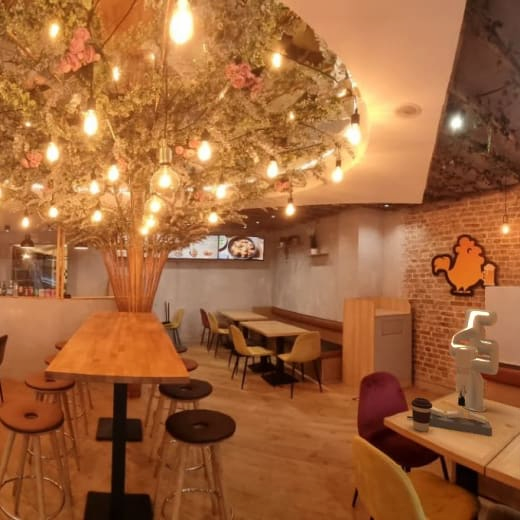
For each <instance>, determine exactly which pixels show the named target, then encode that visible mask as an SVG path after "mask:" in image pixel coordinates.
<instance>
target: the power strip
mask: <svg viewBox="0 0 520 520" xmlns="http://www.w3.org/2000/svg"><path fill="white" fill-rule="evenodd" d="M406 418H407V419H410V420H411V419H412V420H413V416H411V415H407V416H406ZM429 427H435V428H439V429H445V430H452V431H456V432H457V431H458V432H464V433H469V434H476V435H480V436H487V437H492V436H493V428H492V425H491V424H490V422H489V421H487V420H486V424H484V423H482V422H479V421H476V420H474V419H471V418H469V417H456V418H448V414H443V417H441V416H439V415H436V414H433V413H431V415H430V423H429Z"/></svg>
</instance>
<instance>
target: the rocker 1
mask: <svg viewBox="0 0 520 520" xmlns="http://www.w3.org/2000/svg"><path fill="white" fill-rule="evenodd" d="M431 413H433V414H436V415H439V416H441V417H443V415H445V413H444V410H443V409H440V408H437V407H435V406H432V408H431Z"/></svg>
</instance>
